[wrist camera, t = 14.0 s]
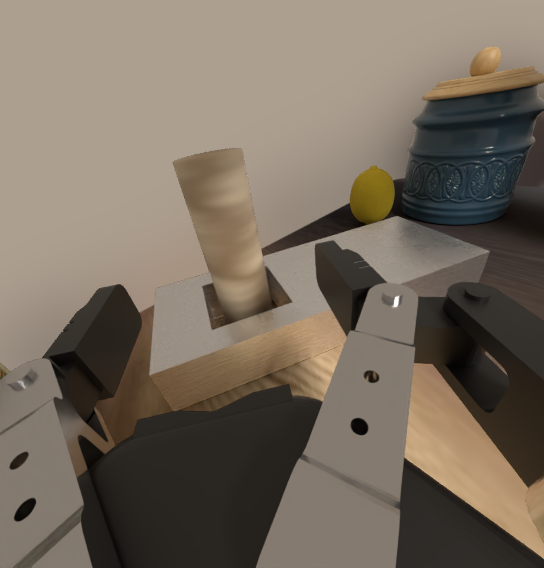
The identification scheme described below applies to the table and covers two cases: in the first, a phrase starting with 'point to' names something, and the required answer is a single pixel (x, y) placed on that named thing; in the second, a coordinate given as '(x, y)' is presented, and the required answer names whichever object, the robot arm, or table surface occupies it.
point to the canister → (472, 143)
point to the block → (289, 309)
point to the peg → (226, 229)
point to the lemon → (372, 195)
